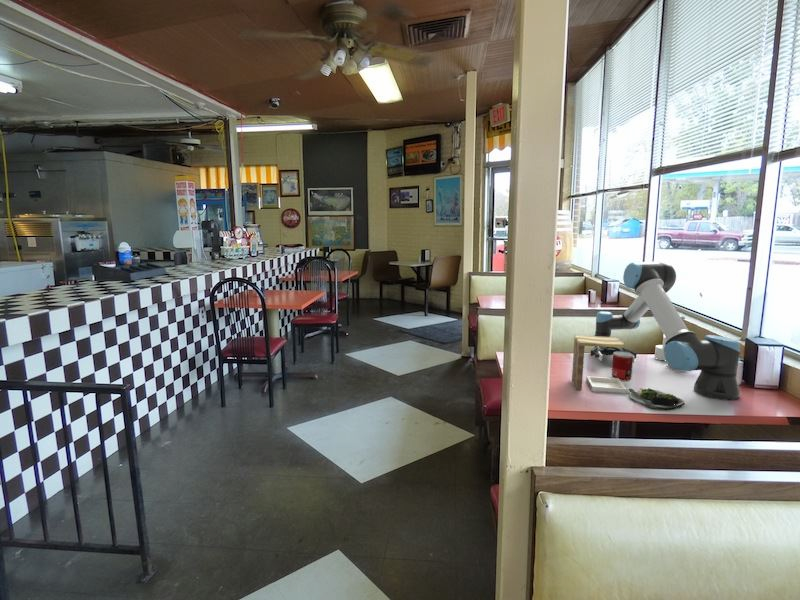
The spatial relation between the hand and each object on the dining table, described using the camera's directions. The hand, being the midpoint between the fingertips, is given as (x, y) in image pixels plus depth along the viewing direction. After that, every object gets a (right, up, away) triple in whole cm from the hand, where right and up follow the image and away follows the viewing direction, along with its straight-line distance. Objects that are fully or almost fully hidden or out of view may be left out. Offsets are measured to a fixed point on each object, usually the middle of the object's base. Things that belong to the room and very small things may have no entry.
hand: (617, 359), depth 207 cm
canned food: (-1, -8, -6) cm, 10 cm away
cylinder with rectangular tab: (+34, -3, +21) cm, 40 cm away
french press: (+30, -5, +6) cm, 32 cm away
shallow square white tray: (-13, -9, -17) cm, 24 cm away
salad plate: (-1, -13, -33) cm, 35 cm away
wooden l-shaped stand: (-17, -9, -16) cm, 25 cm away
